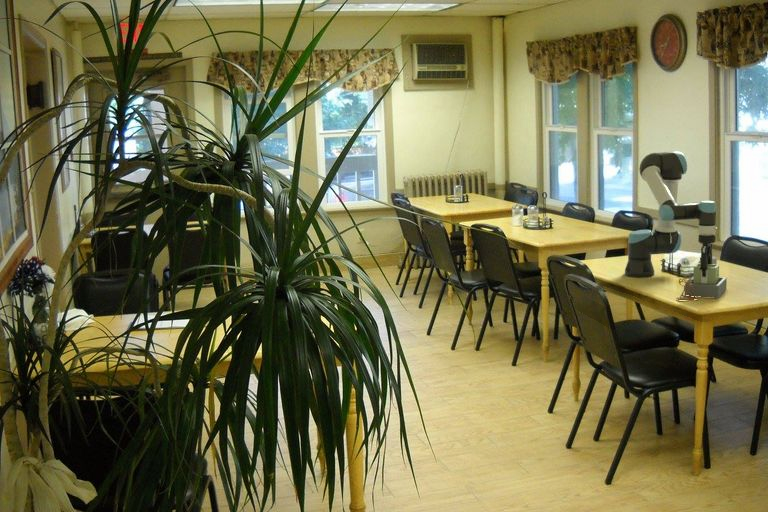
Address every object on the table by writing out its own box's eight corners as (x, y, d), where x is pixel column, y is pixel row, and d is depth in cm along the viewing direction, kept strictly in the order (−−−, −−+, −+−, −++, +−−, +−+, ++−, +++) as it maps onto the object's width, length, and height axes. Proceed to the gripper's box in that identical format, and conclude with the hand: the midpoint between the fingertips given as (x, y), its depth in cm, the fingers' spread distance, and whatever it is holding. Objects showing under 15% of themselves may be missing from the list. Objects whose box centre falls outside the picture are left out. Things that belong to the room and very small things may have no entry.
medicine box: (714, 273, 469) (714, 256, 467) (716, 274, 465) (716, 258, 463) (698, 273, 470) (699, 257, 468) (700, 275, 465) (701, 258, 464)
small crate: (693, 283, 423) (693, 266, 422) (696, 279, 430) (697, 263, 429) (715, 284, 418) (715, 267, 417) (718, 281, 425) (719, 264, 424)
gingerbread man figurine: (694, 298, 415) (695, 273, 413) (698, 300, 412) (698, 274, 410) (676, 299, 415) (676, 274, 413) (679, 301, 411) (680, 275, 409)
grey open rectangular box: (684, 296, 421) (685, 283, 420) (694, 287, 437) (694, 275, 436) (718, 298, 413) (718, 285, 412) (726, 289, 430) (726, 277, 429)
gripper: (710, 237, 409) (709, 286, 413) (719, 231, 427) (718, 277, 431) (693, 237, 413) (693, 285, 417) (703, 230, 431) (702, 276, 435)
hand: (706, 281), depth 424 cm, fingers closed on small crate, 8 cm apart
